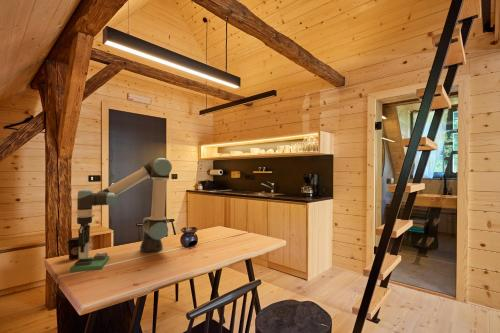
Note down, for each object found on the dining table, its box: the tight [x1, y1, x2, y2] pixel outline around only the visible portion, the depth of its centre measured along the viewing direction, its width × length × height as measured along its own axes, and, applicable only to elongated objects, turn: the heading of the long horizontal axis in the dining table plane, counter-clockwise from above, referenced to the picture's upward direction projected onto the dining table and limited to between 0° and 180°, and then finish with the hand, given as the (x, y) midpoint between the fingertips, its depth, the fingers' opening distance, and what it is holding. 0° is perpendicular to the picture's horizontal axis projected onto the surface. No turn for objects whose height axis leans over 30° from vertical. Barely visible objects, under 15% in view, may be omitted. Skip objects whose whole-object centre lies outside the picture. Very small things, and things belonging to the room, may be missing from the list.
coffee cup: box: [66, 236, 80, 261], centre depth 170 cm, size 9×8×13 cm
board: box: [69, 252, 110, 273], centre depth 159 cm, size 16×18×5 cm
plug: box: [79, 241, 90, 258], centre depth 156 cm, size 4×4×8 cm
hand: (83, 256), depth 156 cm, fingers closed on plug, 4 cm apart
